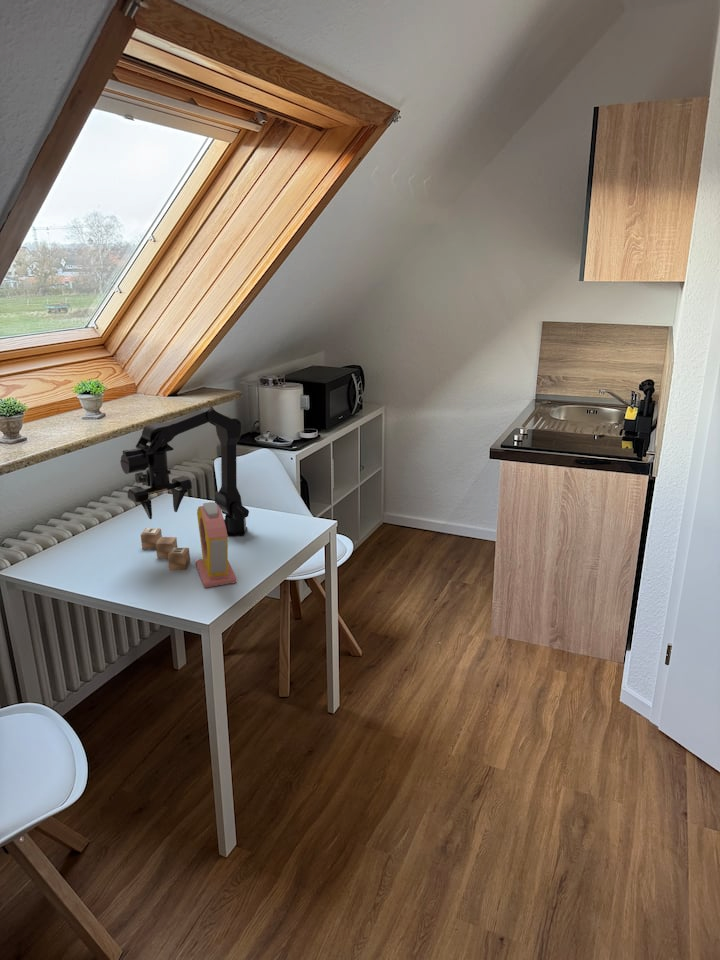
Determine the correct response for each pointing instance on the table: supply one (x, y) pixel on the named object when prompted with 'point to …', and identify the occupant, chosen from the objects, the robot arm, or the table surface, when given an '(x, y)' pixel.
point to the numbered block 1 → (150, 537)
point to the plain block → (165, 546)
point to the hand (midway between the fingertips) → (163, 515)
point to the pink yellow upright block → (213, 547)
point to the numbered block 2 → (178, 558)
